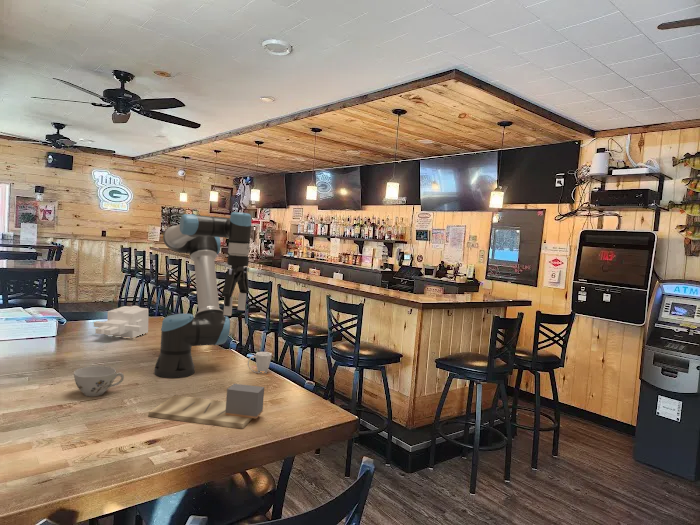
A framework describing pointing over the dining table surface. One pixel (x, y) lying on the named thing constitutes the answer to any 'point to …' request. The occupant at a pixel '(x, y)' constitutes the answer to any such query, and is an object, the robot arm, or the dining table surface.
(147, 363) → the dining table surface
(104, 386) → the teacup
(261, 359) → the cup
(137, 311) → the white voxel figure
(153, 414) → the board
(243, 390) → the block
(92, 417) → the dining table surface
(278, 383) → the dining table surface
